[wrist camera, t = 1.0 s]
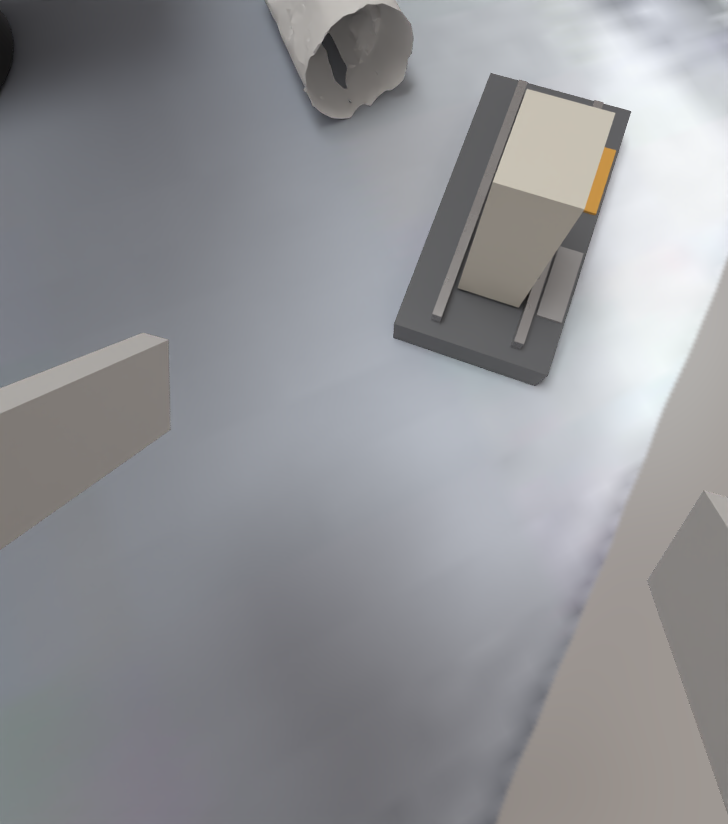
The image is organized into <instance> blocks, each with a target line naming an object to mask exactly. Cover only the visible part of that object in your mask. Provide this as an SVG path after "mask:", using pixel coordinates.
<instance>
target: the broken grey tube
mask: <svg viewBox="0 0 728 824" xmlns="http://www.w3.org/2000/svg"><path fill="white" fill-rule="evenodd" d="M265 2H266V4H267V6H268V8H269V10H270V12H271V14H272V17H273V18H274V20H275V21H276V23H277V26H278V29H279V32H280V35H281V37H282V39H283V41H284V44H285V46H286V48H287V50H288V52H289V54H290V57H291V59H292V61H293V63H294V65H295V68H296V70H297V72H298V74H299V76H300V78H301V80H302V82H303V84H304V86H305V88H304V90H303V91H305V92H306V93H307V94H308V96H309V98H310V100H311V103H312V107H315V108H317V109H318V110H319V111H320V112H321V113H323V114H325V115H327V116H329V117H331V118H338V119H344V118H351V116H352V115H353V114H354V112H355V111H356V109H357V108H358V107H359V106H361V105H363V104H367V105H368V106H371V105H372V103H373V102H374V101H375V99H376V98H377V97H378V96H379V95H381V94H382V93H383V92H384V91H386V90H392V89H394V88H395V87H396V86H398V85H399V84H400V83H401V82H402V81H403V80H404V77H405V73H406V69H407V63H408V58H409V57H410V55H411V54H412V48H413V39H414V38H413V32H412V27H411V23H410V22H409V21H408V19H407V18H406V17H405V15H404V14H403V13H402V12H401V10H400V8H399V6H398V4H397V2H396V0H265ZM327 33H329V34H331V36H332V38H333V40H334V42H335V44H336V46H337V49H338V51H339V53H340V56H341V57H342V59H343V61H344V63H345V64H346V66H347V71H346V78H345V79H346V86H347V88H346V89H344V88H343V87H342V86H341V85H340V84H339V83H337V82H336V81H335V79H334V76H333V72H332V69H331V65H330V63H329V61H328V54H327V51H326V49H325V48H324V47H323V45H322V41H323V39H324V38H325V36H326V35H327ZM348 99H349V100H351V102H352V103H349V102H348Z"/></svg>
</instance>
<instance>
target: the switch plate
mask: <svg viewBox="0 0 728 824" xmlns="http://www.w3.org/2000/svg"><path fill="white" fill-rule="evenodd" d="M527 89H530V90H533V91H537V92H541V93H544V94H548V95H552V96H555V97H559V98H563V99H566V100H570V101H574V102H577V103H581V104H585V105H588V106H592V107H595V108H599V109H603V110H606V111H610V112H614V113H615V116H614V119H613V122H612V125H611V128H610V131H609V135H608V138H607V141H606V144H605V147H604V150H603V153H602V156H601V159H600V162H599V166H598V169H597V172H596V175H595V178H594V181H593V184H592V187H591V190H590V193H589V197H588V200H587V203H586V206H585V209H584V211H583V212H582V214H581V215H580V217H579V218H578V220H577V221H576V223H575V224H574V226H573V227H572V229H571V230H570V232H569V233H568V235H567V236H566V238H565V239H564V241H563V242H562V244H561V245H560V247H559V248H558V250H557V251H556V252H555V254H554V255H553V257H552V258H551V260H550V261H549V263H548V264H547V266H546V267H545V269H544V270H543V272H542V273H541V275H540V276H539V278H538V279H537V281H536V282H535V284H534V285H533V287H532V288H531V290H530V291H529V293H528V294H527V296H526V297H525V299H524V300H523V302H522V303H521V305H520V306H519V308H518V307H515V306H512V305H508V304H505V303H502V302H499V301H496V300H493V299H490V298H487V297H484V296H481V295H478V294H475V293H471V292H468V291H465V290H462V289H459V288H458V285H459V282H460V279H461V276H462V273H463V270H464V267H465V264H466V261H467V258H468V255H469V252H470V249H471V246H472V243H473V240H474V237H475V234H476V231H477V228H478V225H479V222H480V219H481V216H482V213H483V210H484V207H485V204H486V201H487V198H488V195H489V192H490V189H491V186H492V183H493V180H494V177H495V174H496V172H497V169H498V166H499V164H500V161H501V158H502V155H503V153H504V150H505V147H506V144H507V142H508V139H509V136H510V134H511V131H512V128H513V125H514V123H515V120H516V117H517V114H518V112H519V109H520V106H521V104H522V101H523V98H524V95H525V93H526V90H527ZM630 114H631V111H629V110H625V109H621V108H617V107H614V106H610V105H606V104H603V102H600V101H596V100H595V101H592V100H588V99H584V98H581V97H577V96H573V95H570V94H566V93H562V92H559V91H555V90H551V89H547V88H544V87H540V86H536V85H533V84H529V83H528V82H526V81H522V80H519V81H518V80H514V79H511V78H507V77H503V76H500V75H496V74H492V73H491V74H490V76H489V79H488V81H487V84H486V87H485V89H484V92H483V94H482V97H481V100H480V102H479V105H478V107H477V110H476V113H475V115H474V118H473V120H472V123H471V125H470V128H469V131H468V133H467V136H466V138H465V141H464V144H463V146H462V149H461V151H460V154H459V157H458V159H457V162H456V164H455V167H454V170H453V172H452V175H451V177H450V180H449V183H448V185H447V188H446V190H445V193H444V195H443V198H442V201H441V203H440V206H439V208H438V211H437V214H436V216H435V219H434V221H433V224H432V227H431V229H430V232H429V234H428V237H427V240H426V242H425V245H424V247H423V250H422V253H421V255H420V258H419V260H418V263H417V266H416V268H415V271H414V273H413V276H412V278H411V281H410V284H409V286H408V289H407V291H406V294H405V297H404V299H403V302H402V304H401V307H400V310H399V312H398V315H397V317H396V320H395V323H394V334H393V338H396V339H399V340H402V341H405V342H408V343H411V344H414V345H417V346H420V347H423V348H426V349H429V350H431V351H434V352H437V353H440V354H443V355H446V356H449V357H452V358H455V359H458V360H461V361H464V362H467V363H469V364H472V365H475V366H478V367H481V368H484V369H487V370H490V371H493V372H496V373H499V374H502V375H505V376H508V377H510V378H513V379H516V380H519V381H522V382H525V383H528V384H531V385H534V386H535V385H537V384H538V383H539V382H540V381H542V380H543V379H544V378H545V377H547V376H548V373H549V370H550V367H551V363H552V360H553V357H554V354H555V351H556V348H557V344H558V341H559V338H560V335H561V332H562V329H563V326H564V322H565V319H566V316H567V313H568V310H569V307H570V303H571V300H572V297H573V294H574V291H575V288H576V284H577V281H578V278H579V275H580V272H581V269H582V265H583V262H584V259H585V256H586V253H587V250H588V246H589V243H590V240H591V237H592V234H593V231H594V227H595V224H596V221H597V218H598V215H599V212H600V208H601V205H602V202H603V199H604V196H605V193H606V189H607V186H608V183H609V180H610V177H611V174H612V170H613V167H614V164H615V161H616V158H617V155H618V152H619V148H620V145H621V142H622V139H623V136H624V133H625V129H626V126H627V123H628V120H629V117H630Z"/></svg>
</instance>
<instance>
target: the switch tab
mask: <svg viewBox="0 0 728 824" xmlns="http://www.w3.org/2000/svg"><path fill="white" fill-rule="evenodd" d="M614 116H615V113H614V112H610V111H606V110H603V109H599V108H595V107H592V106H588V105H585V104H581V103H577V102H574V101H570V100H566V99H563V98H559V97H555V96H552V95H548V94H544V93H541V92H537V91H533V90H530V89H527V90H526V93H525V95H524V98H523V101H522V104H521V106H520V109H519V112H518V114H517V117H516V120H515V123H514V125H513V128H512V131H511V134H510V136H509V139H508V142H507V144H506V147H505V150H504V153H503V155H502V158H501V161H500V164H499V166H498V169H497V172H496V174H495V177H494V180H493V183H492V186H491V189H490V192H489V195H488V198H487V201H486V204H485V207H484V210H483V213H482V216H481V219H480V222H479V225H478V228H477V231H476V234H475V237H474V240H473V243H472V246H471V249H470V252H469V255H468V258H467V261H466V264H465V267H464V270H463V273H462V276H461V279H460V282H459V285H458V288H459V289H462V290H465V291H468V292H471V293H475V294H478V295H481V296H484V297H487V298H490V299H493V300H496V301H499V302H502V303H505V304H508V305H512V306H515V307H518V308H519V306H520V305H521V303H522V302H523V300H524V299H525V297H526V296H527V294H528V293H529V291H530V290H531V288H532V287H533V285H534V284H535V282H536V281H537V279H538V278H539V276H540V275H541V273H542V272H543V270H544V269H545V267H546V266H547V264H548V263H549V261H550V260H551V258H552V257H553V255H554V254H555V252H556V251H557V250H558V248H559V247H560V245H561V244H562V242H563V241H564V239H565V238H566V236H567V235H568V233H569V232H570V230H571V229H572V227H573V226H574V224H575V223H576V221H577V220H578V218H579V217H580V215H581V214H582V212H583V211H584V209H585V206H586V203H587V200H588V197H589V193H590V190H591V187H592V184H593V181H594V178H595V175H596V172H597V169H598V166H599V162H600V159H601V156H602V153H603V150H604V147H605V144H606V141H607V138H608V135H609V131H610V128H611V125H612V122H613V119H614Z"/></svg>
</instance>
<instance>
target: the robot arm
mask: <svg viewBox="0 0 728 824" xmlns="http://www.w3.org/2000/svg"><path fill="white" fill-rule="evenodd" d="M12 57H13V36H12V31H11V28H10V25H9V23H8V21H7V19H6V17H5V16H4V14H3V13H2V11H1V10H0V87H1V86H2V84H3V82H4V80H5V78H6V76H7V74H8V71H9V69H10V65H11V62H12ZM168 431H170V387H169V340H167V339H164V338H160V337H156V336H153V335H149V334H146V333H141V334H138V335H136V336H133V337H131V338H128V339H126V340H123V341H120V342H118V343H115V344H113V345H110V346H108V347H105V348H102V349H100V350H97V351H95V352H92V353H90V354H87V355H84V356H82V357H79V358H77V359H74V360H72V361H69V362H66V363H64V364H61V365H59V366H56V367H54V368H51V369H48V370H46V371H43V372H41V373H38V374H36V375H33V376H30V377H28V378H25V379H23V380H20V381H18V382H15V383H12V384H10V385H7V386H5V387H2V388H0V550H1V549H2V548H4V547H5V546H6V545H8V544H9V543H11V542H12V541H13V540H15V539H16V538H18V537H19V536H21V535H22V534H23V533H25V532H26V531H28V530H29V529H30V528H32V527H33V526H35V525H36V524H38V523H39V522H40V521H42V520H43V519H45V518H46V517H48V516H49V515H50V514H52V513H53V512H55V511H56V510H57V509H59V508H60V507H62V506H63V505H65V504H66V503H67V502H69V501H70V500H72V499H73V498H74V497H76V496H77V495H79V494H80V493H82V492H83V491H84V490H86V489H87V488H89V487H90V486H91V485H93V484H94V483H96V482H97V481H99V480H100V479H101V478H103V477H104V476H106V475H107V474H109V473H110V472H111V471H113V470H114V469H116V468H117V467H118V466H120V465H121V464H123V463H124V462H126V461H127V460H128V459H130V458H131V457H133V456H134V455H135V454H137V453H138V452H140V451H141V450H143V449H144V448H145V447H147V446H148V445H150V444H151V443H153V442H154V441H155V440H157V439H158V438H160V437H161V436H162V435H164V434H165V433H167V432H168ZM647 582H648V585H649V588H650V590H651V593H652V596H653V599H654V602H655V605H656V608H657V611H658V614H659V617H660V620H661V622H662V625H663V628H664V631H665V634H666V637H667V640H668V642H669V646H670V648H671V651H672V654H673V657H674V660H675V663H676V666H677V669H678V671H679V675H680V677H681V680H682V683H683V686H684V689H685V692H686V695H687V697H688V701H689V704H690V706H691V709H692V712H693V715H694V718H695V721H696V723H697V726H698V729H699V732H700V735H701V738H702V741H703V744H704V747H705V750H706V753H707V756H708V759H709V761H710V764H711V767H712V770H713V773H714V776H715V779H716V781H717V785H718V787H719V790H720V793H721V796H722V799H723V802H724V805H725V808H726V811H727V814H728V497H726V496H723V495H719V494H715V493H712V492H709V491H705V490H704V491H703V492H702V494H701V495H700V497H699V499H698V500H697V502H696V504H695V505H694V507H693V508H692V510H691V511H690V513H689V515H688V516H687V518H686V520H685V521H684V523H683V524H682V526H681V528H680V529H679V531H678V532H677V534H676V535H675V537H674V539H673V540H672V542H671V543H670V545H669V547H668V548H667V550H666V551H665V553H664V555H663V556H662V558H661V559H660V561H659V563H658V564H657V566H656V567H655V569H654V571H653V572H652V574H651V575H650V577H649V579H648V580H647Z"/></svg>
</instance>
